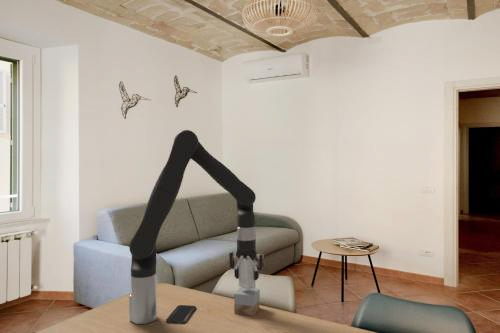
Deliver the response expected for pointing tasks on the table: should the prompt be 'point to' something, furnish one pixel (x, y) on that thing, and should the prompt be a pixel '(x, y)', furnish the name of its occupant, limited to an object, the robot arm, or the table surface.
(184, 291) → the table surface
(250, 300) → the tower top
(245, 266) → the skincare box
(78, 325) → the table surface
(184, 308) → the phone
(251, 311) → the tower bottom
